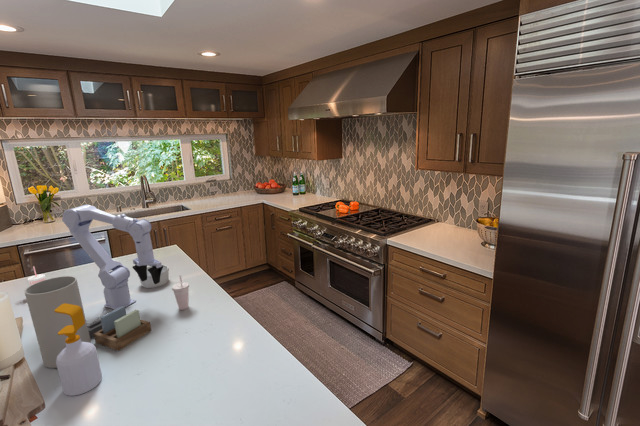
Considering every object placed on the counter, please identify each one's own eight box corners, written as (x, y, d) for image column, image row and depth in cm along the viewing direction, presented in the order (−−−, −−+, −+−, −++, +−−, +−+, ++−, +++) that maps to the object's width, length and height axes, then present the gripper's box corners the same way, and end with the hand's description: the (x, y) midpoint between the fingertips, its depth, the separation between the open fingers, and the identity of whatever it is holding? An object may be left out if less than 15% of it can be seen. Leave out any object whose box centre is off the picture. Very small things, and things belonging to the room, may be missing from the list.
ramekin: (176, 280, 160) (174, 267, 158) (150, 292, 149) (147, 277, 148) (160, 275, 167) (158, 262, 165) (134, 286, 156) (131, 272, 155)
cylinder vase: (52, 349, 110) (34, 280, 104) (96, 340, 115) (81, 273, 109) (37, 374, 99) (16, 298, 93) (86, 362, 103) (69, 289, 97)
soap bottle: (76, 374, 98) (58, 299, 92) (108, 371, 99) (92, 296, 93) (55, 398, 89) (33, 316, 84) (91, 394, 90) (71, 313, 84)
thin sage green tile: (118, 345, 111) (113, 321, 109) (139, 332, 118) (135, 309, 116) (121, 346, 111) (116, 322, 109) (142, 333, 118) (138, 310, 116)
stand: (83, 335, 117) (82, 328, 117) (117, 318, 128) (115, 311, 128) (91, 338, 116) (89, 331, 115) (124, 320, 127) (123, 313, 126)
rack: (95, 342, 113) (93, 333, 112) (129, 323, 124) (127, 315, 123) (118, 351, 108) (116, 341, 107) (151, 330, 119) (149, 321, 118)
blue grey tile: (104, 340, 114) (99, 317, 112) (126, 328, 121) (122, 305, 119) (107, 341, 114) (102, 317, 112) (129, 328, 121) (124, 306, 119)
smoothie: (186, 311, 131) (181, 279, 128) (171, 310, 132) (166, 278, 129) (195, 303, 137) (190, 272, 134) (181, 302, 138) (176, 271, 135)
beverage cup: (53, 292, 153) (46, 263, 149) (41, 298, 147) (33, 269, 144) (41, 292, 153) (33, 263, 150) (28, 298, 148) (20, 269, 144)
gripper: (123, 251, 131) (130, 283, 135) (148, 255, 125) (154, 288, 128) (139, 246, 138) (145, 276, 141) (163, 249, 131) (169, 281, 135)
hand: (150, 281), depth 135 cm, fingers open, 7 cm apart
